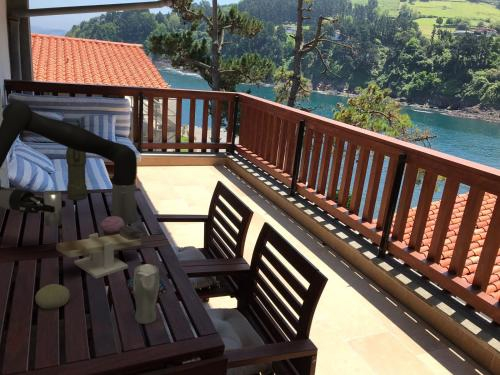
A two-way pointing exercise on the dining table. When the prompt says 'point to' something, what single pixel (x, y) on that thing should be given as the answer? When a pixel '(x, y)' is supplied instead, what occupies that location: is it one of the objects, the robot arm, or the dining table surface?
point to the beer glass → (146, 292)
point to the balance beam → (100, 243)
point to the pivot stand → (101, 261)
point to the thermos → (76, 174)
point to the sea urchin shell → (52, 296)
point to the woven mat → (130, 286)
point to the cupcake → (112, 225)
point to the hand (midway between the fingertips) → (59, 206)
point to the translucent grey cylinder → (55, 200)
